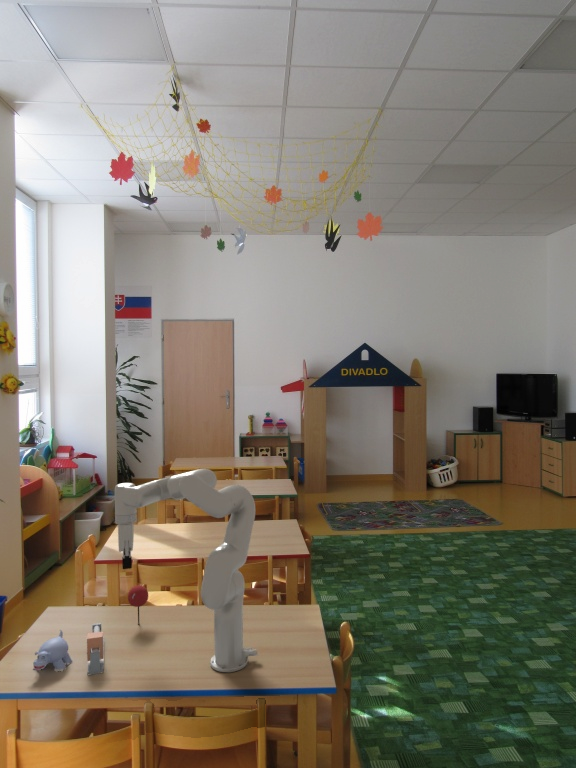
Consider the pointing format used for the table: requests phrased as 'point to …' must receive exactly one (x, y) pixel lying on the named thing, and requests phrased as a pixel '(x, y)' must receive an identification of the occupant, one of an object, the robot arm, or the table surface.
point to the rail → (96, 655)
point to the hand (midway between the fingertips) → (127, 567)
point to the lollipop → (138, 597)
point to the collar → (94, 643)
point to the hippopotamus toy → (53, 654)
